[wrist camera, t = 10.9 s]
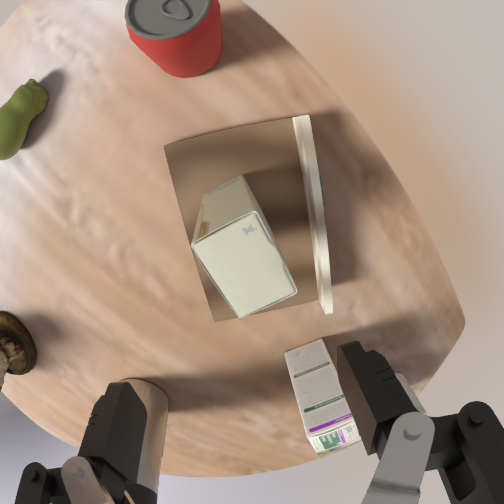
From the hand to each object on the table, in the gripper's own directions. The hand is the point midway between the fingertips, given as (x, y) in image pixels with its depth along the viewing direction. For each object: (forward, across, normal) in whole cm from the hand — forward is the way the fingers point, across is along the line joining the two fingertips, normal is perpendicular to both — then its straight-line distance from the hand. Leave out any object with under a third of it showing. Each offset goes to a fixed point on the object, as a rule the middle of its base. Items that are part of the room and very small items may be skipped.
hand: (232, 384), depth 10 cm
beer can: (+22, 0, -18) cm, 29 cm away
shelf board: (+22, -2, +1) cm, 22 cm away
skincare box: (+20, -1, -1) cm, 20 cm away
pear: (+22, +21, -18) cm, 36 cm away
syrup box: (+23, -6, +22) cm, 32 cm away
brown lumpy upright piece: (+23, +44, +12) cm, 51 cm away
